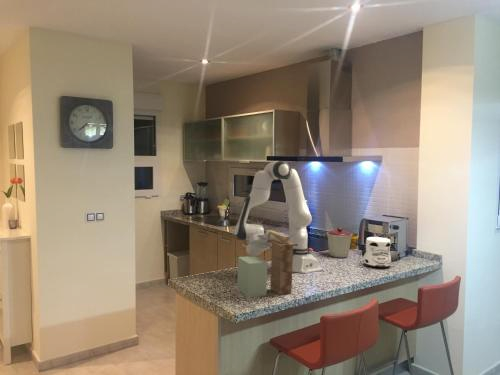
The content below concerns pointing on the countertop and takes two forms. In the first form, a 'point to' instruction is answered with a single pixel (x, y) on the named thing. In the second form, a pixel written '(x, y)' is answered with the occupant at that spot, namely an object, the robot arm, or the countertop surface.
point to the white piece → (377, 252)
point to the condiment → (354, 241)
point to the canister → (339, 243)
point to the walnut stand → (281, 267)
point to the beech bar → (278, 237)
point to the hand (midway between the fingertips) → (272, 233)
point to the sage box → (252, 276)
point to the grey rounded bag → (394, 255)
